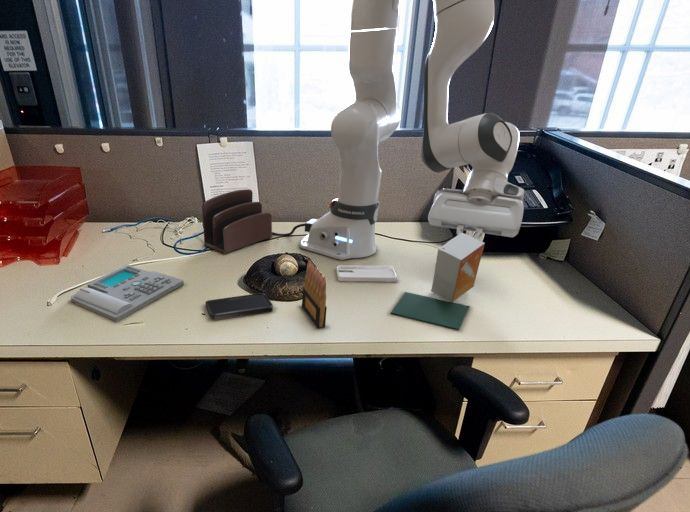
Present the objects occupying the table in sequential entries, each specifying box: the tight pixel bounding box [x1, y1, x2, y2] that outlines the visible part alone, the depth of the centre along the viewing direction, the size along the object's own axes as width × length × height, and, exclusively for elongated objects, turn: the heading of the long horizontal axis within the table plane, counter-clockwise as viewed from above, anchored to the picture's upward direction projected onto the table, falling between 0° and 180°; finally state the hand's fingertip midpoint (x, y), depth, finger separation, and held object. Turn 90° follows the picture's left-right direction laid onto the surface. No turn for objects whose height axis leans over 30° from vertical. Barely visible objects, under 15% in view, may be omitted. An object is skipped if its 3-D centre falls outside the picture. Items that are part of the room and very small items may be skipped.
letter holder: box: [201, 188, 273, 255], centre depth 143 cm, size 10×20×14 cm, turn 132°
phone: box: [205, 292, 274, 321], centre depth 112 cm, size 8×1×15 cm
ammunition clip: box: [301, 259, 328, 329], centre depth 105 cm, size 11×2×12 cm, turn 13°
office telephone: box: [70, 264, 185, 323], centre depth 119 cm, size 23×3×20 cm
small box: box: [430, 232, 486, 303], centre depth 110 cm, size 8×6×13 cm
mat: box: [390, 291, 470, 331], centre depth 110 cm, size 15×12×1 cm
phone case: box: [335, 264, 398, 283], centre depth 125 cm, size 7×1×15 cm
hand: (464, 246), depth 111 cm, fingers closed
